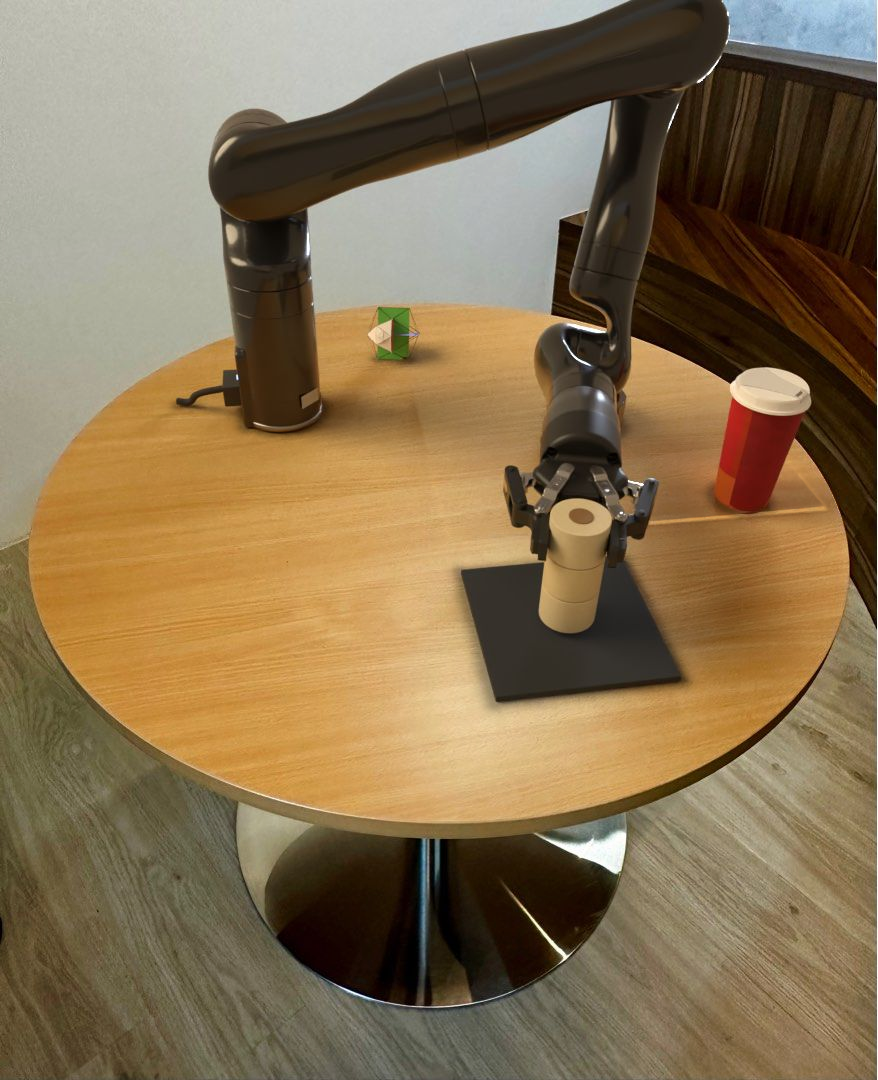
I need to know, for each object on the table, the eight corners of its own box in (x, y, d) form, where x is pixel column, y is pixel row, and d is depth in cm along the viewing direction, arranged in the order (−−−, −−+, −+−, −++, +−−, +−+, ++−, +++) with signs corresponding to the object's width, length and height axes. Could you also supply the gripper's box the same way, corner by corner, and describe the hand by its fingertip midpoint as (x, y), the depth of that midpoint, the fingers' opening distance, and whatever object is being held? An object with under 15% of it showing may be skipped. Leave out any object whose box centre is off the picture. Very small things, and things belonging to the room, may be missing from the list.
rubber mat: (495, 701, 72) (496, 697, 72) (460, 574, 85) (461, 569, 84) (680, 681, 75) (682, 676, 74) (620, 559, 87) (621, 554, 86)
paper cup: (789, 498, 95) (828, 382, 87) (756, 530, 91) (793, 412, 82) (723, 469, 99) (754, 356, 91) (689, 498, 95) (717, 383, 86)
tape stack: (546, 636, 77) (559, 537, 70) (532, 597, 80) (543, 499, 73) (601, 630, 77) (620, 532, 70) (585, 592, 81) (601, 494, 74)
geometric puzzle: (371, 322, 122) (366, 292, 114) (421, 324, 122) (419, 294, 114) (368, 370, 120) (363, 344, 112) (419, 372, 120) (417, 345, 112)
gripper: (508, 401, 82) (491, 511, 69) (664, 414, 81) (677, 529, 68) (503, 467, 87) (487, 582, 74) (650, 480, 86) (660, 599, 73)
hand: (578, 555), depth 71 cm, fingers closed on tape stack, 5 cm apart
